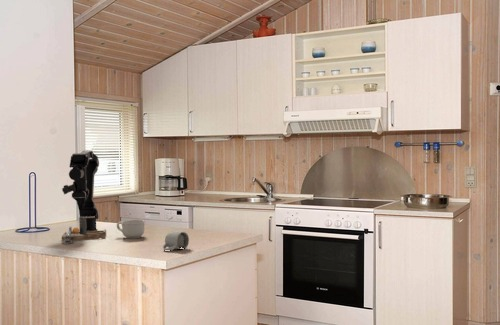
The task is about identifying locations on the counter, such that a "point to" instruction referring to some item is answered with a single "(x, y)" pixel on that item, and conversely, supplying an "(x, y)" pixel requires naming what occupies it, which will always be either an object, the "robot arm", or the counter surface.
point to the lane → (88, 235)
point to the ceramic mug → (176, 240)
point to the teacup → (132, 228)
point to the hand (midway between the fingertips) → (81, 210)
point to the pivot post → (67, 241)
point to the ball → (75, 230)
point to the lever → (81, 225)
